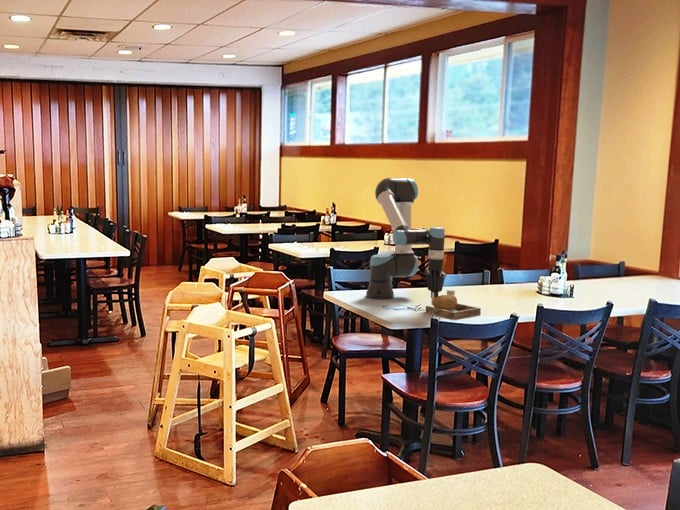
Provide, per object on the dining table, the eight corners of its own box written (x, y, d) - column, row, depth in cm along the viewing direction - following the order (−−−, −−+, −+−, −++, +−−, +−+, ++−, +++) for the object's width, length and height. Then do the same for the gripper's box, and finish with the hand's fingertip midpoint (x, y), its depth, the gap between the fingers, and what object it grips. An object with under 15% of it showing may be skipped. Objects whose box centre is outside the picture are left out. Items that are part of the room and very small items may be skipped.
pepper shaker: (444, 306, 363) (444, 290, 362) (449, 305, 366) (450, 289, 365) (450, 307, 360) (451, 291, 359) (455, 306, 362) (456, 290, 361)
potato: (426, 310, 351) (427, 294, 350) (448, 308, 358) (449, 292, 357) (439, 314, 343) (439, 298, 342) (461, 311, 350) (462, 295, 349)
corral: (425, 312, 347) (425, 306, 346) (451, 307, 359) (451, 302, 359) (454, 318, 333) (454, 312, 332) (480, 314, 345) (480, 308, 344)
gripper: (421, 257, 354) (419, 303, 357) (440, 260, 345) (438, 307, 347) (431, 256, 359) (429, 302, 362) (450, 259, 349) (448, 306, 352)
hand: (434, 304), depth 355 cm, fingers closed
